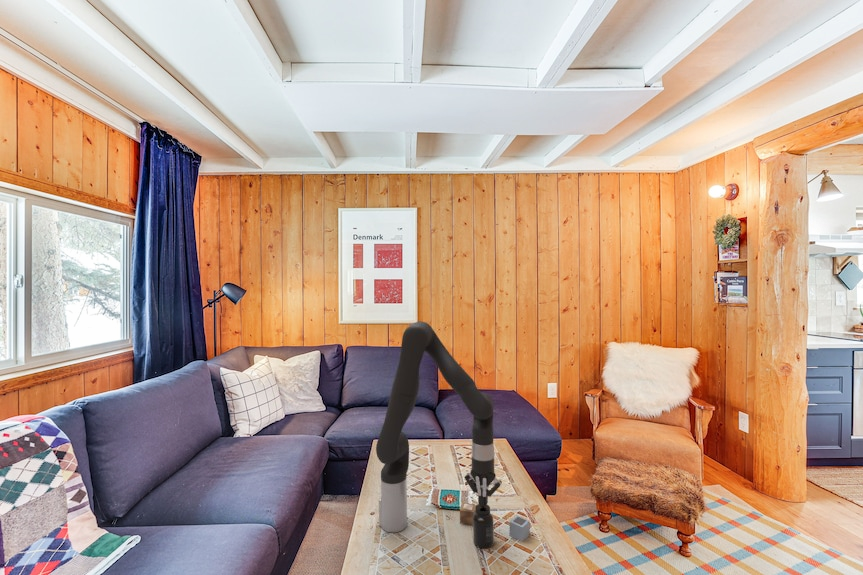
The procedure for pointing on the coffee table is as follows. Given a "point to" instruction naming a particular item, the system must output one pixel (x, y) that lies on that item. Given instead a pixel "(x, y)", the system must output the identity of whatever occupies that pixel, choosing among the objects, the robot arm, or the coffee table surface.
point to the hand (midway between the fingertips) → (483, 505)
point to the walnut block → (467, 513)
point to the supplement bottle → (483, 527)
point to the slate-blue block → (519, 528)
